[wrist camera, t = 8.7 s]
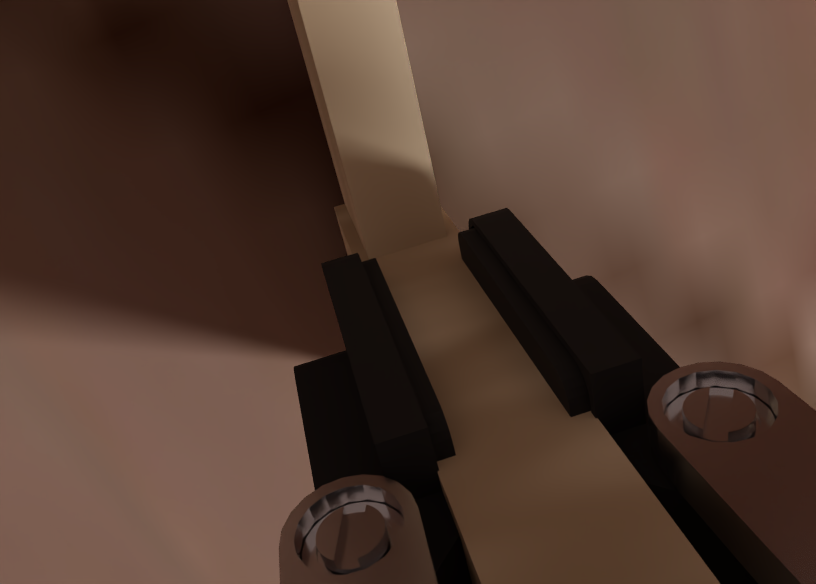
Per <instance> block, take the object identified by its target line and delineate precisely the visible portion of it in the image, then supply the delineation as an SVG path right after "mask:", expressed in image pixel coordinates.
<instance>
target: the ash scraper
mask: <svg viewBox="0 0 816 584" xmlns="http://www.w3.org/2000/svg"><path fill="white" fill-rule="evenodd" d="M287 1H288V4H289V8H290V12H291V15H292V19H293V22H294V26H295V29H296V33H297V36H298V40H299V43H300V47H301V50H302V54H303V58H304V61H305V65H306V68H307V72H308V75H309V79H310V82H311V86H312V89H313V93H314V96H315V100H316V104H317V107H318V111H319V114H320V118H321V121H322V125H323V128H324V132H325V135H326V139H327V142H328V146H329V150H330V153H331V157H332V160H333V164H334V167H335V171H336V174H337V178H338V181H339V185H340V189H341V192H342V196H343V199H344V203H345V204H342V205H339V206H336V207H334V210H335V213H336V217H337V220H338V224H339V227H340V231H341V234H342V237H343V241H344V244H345V248H346V251H347V255H351V254H355V253H358V254H359V256H360V259H361V261H362V262H363V261H366V260H370V259H373V258H376V260H377V262H378V264H379V267H380V269H381V271H382V273H383V276H384V278H385V280H386V282H387V285H388V287H389V289H390V292H391V294H392V296H393V298H394V301H395V303H396V305H397V307H398V310H399V312H400V314H401V317H402V319H403V321H404V323H405V326H406V328H407V330H408V332H409V335H410V337H411V339H412V342H413V344H414V346H415V348H416V351H417V353H418V355H419V357H420V360H421V362H422V364H423V367H424V369H425V371H426V373H427V376H428V378H429V380H430V383H431V385H432V387H433V389H434V392H435V394H436V396H437V398H438V401H439V403H440V405H441V408H442V410H443V413H444V416H445V419H446V422H447V425H448V428H449V431H450V434H451V438H452V441H453V445H454V449H455V453H456V456H453V457H449V458H446V459H443V460H440V461H437V464H438V468H439V471H437V472H438V476H439V480H440V484H441V487H442V491H443V494H444V496H445V499H446V502H447V504H448V507H449V509H450V512H451V515H452V517H453V520H454V522H455V525H456V528H457V530H458V533H459V536H460V539H461V543H462V547H463V551H464V555H465V559H466V563H467V566H468V570H469V574H470V578H471V582H472V584H720V583H719V581H718V580H717V579H716V577H715V576H714V574H713V573H712V572H711V570H710V569H709V568H708V566H707V565H706V564H705V562H704V561H703V560H702V558H701V557H700V556H699V554H698V553H697V552H696V550H695V549H694V547H693V546H692V545H691V543H690V542H689V541H688V539H687V538H686V537H685V535H684V534H683V533H682V531H681V530H680V529H679V527H678V526H677V525H676V523H675V522H674V520H673V519H672V518H671V516H670V515H669V514H668V512H667V511H666V510H665V508H664V507H663V506H662V504H661V503H660V502H659V500H658V499H657V498H656V496H655V495H654V494H653V492H652V491H651V489H650V488H649V487H648V485H647V484H646V483H645V481H644V480H643V479H642V477H641V476H640V475H639V473H638V472H637V471H636V469H635V468H634V467H633V465H632V464H631V462H630V461H629V460H628V458H627V457H626V456H625V454H624V453H623V452H622V450H621V449H620V448H619V446H618V445H617V444H616V442H615V441H614V440H613V438H612V437H611V435H610V434H609V433H608V431H607V430H606V429H605V427H604V426H603V425H602V423H601V422H600V421H599V419H598V418H595V417H594V416H593V414H592V413H591V411H589V412H586V413H583V414H580V415H577V416H574V417H570V416H569V414H568V413H567V411H566V410H565V408H564V407H563V405H562V404H561V403H560V401H559V400H558V398H557V397H556V395H555V394H554V392H553V391H552V389H551V388H550V386H549V385H548V384H547V382H546V381H545V379H544V378H543V376H542V375H541V373H540V372H539V370H538V369H537V368H536V366H535V365H534V363H533V362H532V360H531V359H530V357H529V356H528V354H527V353H526V352H525V350H524V349H523V347H522V346H521V344H520V343H519V341H518V340H517V338H516V337H515V336H514V334H513V333H512V331H511V330H510V328H509V327H508V325H507V324H506V322H505V321H504V320H503V318H502V317H501V315H500V314H499V312H498V311H497V309H496V308H495V306H494V305H493V304H492V302H491V301H490V299H489V298H488V296H487V295H486V293H485V292H484V290H483V289H482V288H481V286H480V285H479V283H478V282H477V280H476V279H475V277H474V276H473V274H472V273H471V272H470V270H469V269H468V267H467V266H466V264H465V263H464V261H463V260H462V257H461V252H460V247H459V242H458V233H459V230H458V229H457V228H456V226H455V225H454V224H453V222H452V221H451V220H450V218H449V217H448V216H447V214H446V213H445V211H444V210H443V209H442V207H441V205H440V201H439V196H438V191H437V187H436V182H435V177H434V173H433V168H432V164H431V159H430V154H429V150H428V145H427V140H426V136H425V131H424V127H423V122H422V117H421V113H420V108H419V104H418V99H417V94H416V90H415V85H414V80H413V76H412V71H411V67H410V62H409V57H408V53H407V48H406V43H405V39H404V34H403V30H402V25H401V20H400V16H399V11H398V7H397V2H396V0H287Z"/></svg>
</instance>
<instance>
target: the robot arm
mask: <svg viewBox="0 0 816 584" xmlns="http://www.w3.org/2000/svg"><path fill="white" fill-rule="evenodd" d="M458 242H459V247H460V252H461V257H462V260H463V261H464V263H465V264H466V266H467V267H468V269H469V270H470V272H471V273H472V274H473V276H474V277H475V279H476V280H477V282H478V283H479V285H480V286H481V288H482V289H483V290H484V292H485V293H486V295H487V296H488V298H489V299H490V301H491V302H492V304H493V305H494V306H495V308H496V309H497V311H498V312H499V314H500V315H501V317H502V318H503V320H504V321H505V322H506V324H507V325H508V327H509V328H510V330H511V331H512V333H513V334H514V336H515V337H516V338H517V340H518V341H519V343H520V344H521V346H522V347H523V349H524V350H525V352H526V353H527V354H528V356H529V357H530V359H531V360H532V362H533V363H534V365H535V366H536V368H537V369H538V370H539V372H540V373H541V375H542V376H543V378H544V379H545V381H546V382H547V384H548V385H549V386H550V388H551V389H552V391H553V392H554V394H555V395H556V397H557V398H558V400H559V401H560V403H561V404H562V405H563V407H564V408H565V410H566V411H567V413H568V414H569V416H570V417H574V416H577V415H580V414H583V413H586V412H589V411H591V413H592V414H593V416H594V417H595V418H598V419H599V421H600V422H601V423H602V425H603V426H604V427H605V429H606V430H607V431H608V433H609V434H610V435H611V437H612V438H613V440H614V441H615V442H616V444H617V445H618V446H619V448H620V449H621V450H622V452H623V453H624V454H625V456H626V457H627V458H628V460H629V461H630V462H631V464H632V465H633V467H634V468H635V469H636V471H637V472H638V473H639V475H640V476H641V477H642V479H643V480H644V481H645V483H646V484H647V485H648V487H649V488H650V489H651V491H652V492H653V494H654V495H655V496H656V498H657V499H658V500H659V502H660V503H661V504H662V506H663V507H664V508H665V510H666V511H667V512H668V514H669V515H670V516H671V518H672V519H673V520H674V522H675V523H676V525H677V526H678V527H679V529H680V530H681V531H682V533H683V534H684V535H685V537H686V538H687V539H688V541H689V542H690V543H691V545H692V546H693V547H694V549H695V550H696V552H697V553H698V554H699V556H700V557H701V558H702V560H703V561H704V562H705V564H706V565H707V566H708V568H709V569H710V570H711V572H712V573H713V574H714V576H715V577H716V579H717V580H718V581H719V583H720V584H816V410H814V409H813V408H812V407H811V406H809V405H808V404H807V403H806V402H804V401H803V400H802V399H801V398H799V397H798V396H797V395H796V394H794V393H793V392H792V391H791V390H789V389H788V388H787V387H785V386H784V385H783V384H782V383H780V382H779V381H778V380H776V379H774V378H773V377H771V376H769V375H768V374H766V373H764V372H763V371H760V370H757V369H754V368H751V367H748V366H745V365H742V364H735V363H728V362H701V363H695V364H691V365H687V366H683V367H679V366H678V365H677V364H676V363H675V362H674V361H673V359H672V358H671V357H670V356H669V355H668V354H667V353H666V352H665V351H664V350H663V349H662V348H661V347H660V346H659V345H658V344H657V343H656V342H655V341H654V340H653V338H652V337H651V336H650V335H649V334H648V333H647V332H646V331H645V330H644V329H643V328H642V327H641V326H640V325H639V324H638V323H637V322H636V321H635V320H634V319H633V317H632V316H631V315H630V314H629V313H628V312H627V311H626V310H625V309H624V308H623V307H622V306H621V305H620V304H619V303H618V302H617V301H616V300H615V299H614V298H613V296H612V295H611V294H610V293H609V292H608V291H607V290H606V289H605V288H604V287H603V286H602V285H601V284H600V283H599V282H598V281H597V280H596V279H595V278H593V277H592V276H583V277H580V278H577V279H574V280H572V279H571V278H570V277H569V276H568V275H567V274H566V273H565V272H564V270H563V269H562V268H561V267H560V266H559V265H558V264H557V263H556V261H555V260H554V259H553V258H552V257H551V256H550V255H549V254H548V252H547V251H546V250H545V249H544V248H543V247H542V246H541V245H540V244H539V242H538V241H537V240H536V239H535V238H534V237H533V236H532V235H531V233H530V232H529V231H528V230H527V229H526V228H525V227H524V226H523V224H522V223H521V222H520V221H519V220H518V219H517V218H516V217H515V216H514V214H513V213H512V212H511V211H510V210H509V209H508V208H505V209H501V210H498V211H495V212H491V213H488V214H485V215H481V216H478V217H475V218H471V219H469V230H466V231H463V232H459V233H458ZM321 265H322V268H323V272H324V275H325V279H326V282H327V285H328V289H329V292H330V296H331V299H332V302H333V306H334V309H335V313H336V316H337V319H338V323H339V326H340V330H341V333H342V336H343V340H344V343H345V347H346V351H343V352H339V353H336V354H333V355H330V356H327V357H323V358H320V359H317V360H314V361H311V362H307V363H304V364H301V365H298V366H294V374H295V380H296V386H297V391H298V397H299V403H300V408H301V414H302V420H303V425H304V431H305V437H306V442H307V448H308V453H309V459H310V465H311V470H312V476H313V482H314V487H315V491H314V492H312V493H311V494H309V495H308V496H306V497H305V498H304V499H303V500H302V501H301V502H300V503H299V504H298V505H297V506H296V507H295V509H294V510H293V511H292V512H291V513H290V515H289V517H288V519H287V521H286V522H285V524H284V526H283V528H282V531H281V537H280V543H279V567H280V584H472V582H471V578H470V574H469V570H468V566H467V563H466V559H465V555H464V551H463V547H462V543H461V539H460V536H459V533H458V530H457V528H456V525H455V522H454V520H453V517H452V515H451V512H450V509H449V507H448V504H447V502H446V499H445V496H444V494H443V491H442V487H441V484H440V480H439V476H438V472H437V471H439V468H438V464H437V461H440V460H443V459H446V458H449V457H453V456H456V453H455V449H454V445H453V441H452V438H451V434H450V431H449V428H448V425H447V422H446V419H445V416H444V413H443V410H442V408H441V405H440V403H439V401H438V398H437V396H436V394H435V392H434V389H433V387H432V385H431V383H430V380H429V378H428V376H427V373H426V371H425V369H424V367H423V364H422V362H421V360H420V357H419V355H418V353H417V351H416V348H415V346H414V344H413V342H412V339H411V337H410V335H409V332H408V330H407V328H406V326H405V323H404V321H403V319H402V317H401V314H400V312H399V310H398V307H397V305H396V303H395V301H394V298H393V296H392V294H391V292H390V289H389V287H388V285H387V282H386V280H385V278H384V276H383V273H382V271H381V269H380V267H379V264H378V262H377V260H376V258H373V259H370V260H366V261H363V262H362V261H361V259H360V256H359V254H358V253H355V254H351V255H348V256H345V257H341V258H338V259H335V260H331V261H328V262H325V263H321Z"/></svg>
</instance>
